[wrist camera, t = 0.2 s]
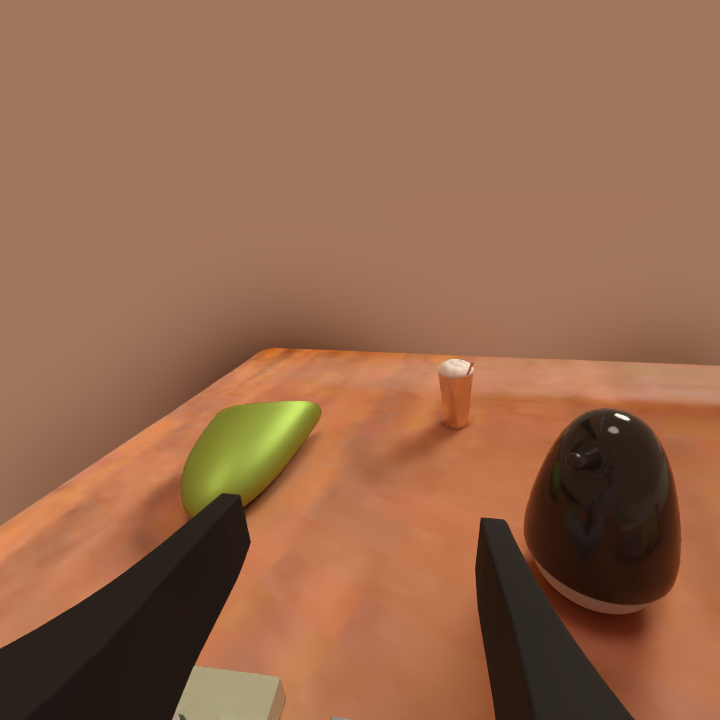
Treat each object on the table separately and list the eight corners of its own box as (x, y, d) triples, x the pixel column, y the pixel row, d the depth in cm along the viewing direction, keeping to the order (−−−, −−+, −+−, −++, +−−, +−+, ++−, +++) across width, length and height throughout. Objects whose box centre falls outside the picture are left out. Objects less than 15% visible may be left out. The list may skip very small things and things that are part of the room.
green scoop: (236, 373, 55) (136, 476, 38) (321, 388, 53) (256, 505, 36) (240, 418, 59) (151, 531, 42) (320, 434, 57) (261, 559, 40)
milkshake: (458, 438, 52) (457, 367, 48) (432, 420, 56) (430, 355, 52) (484, 426, 53) (486, 358, 50) (457, 410, 58) (457, 346, 54)
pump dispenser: (494, 571, 34) (500, 415, 28) (561, 510, 39) (578, 368, 33) (627, 676, 26) (675, 489, 20) (689, 582, 31) (740, 412, 25)
